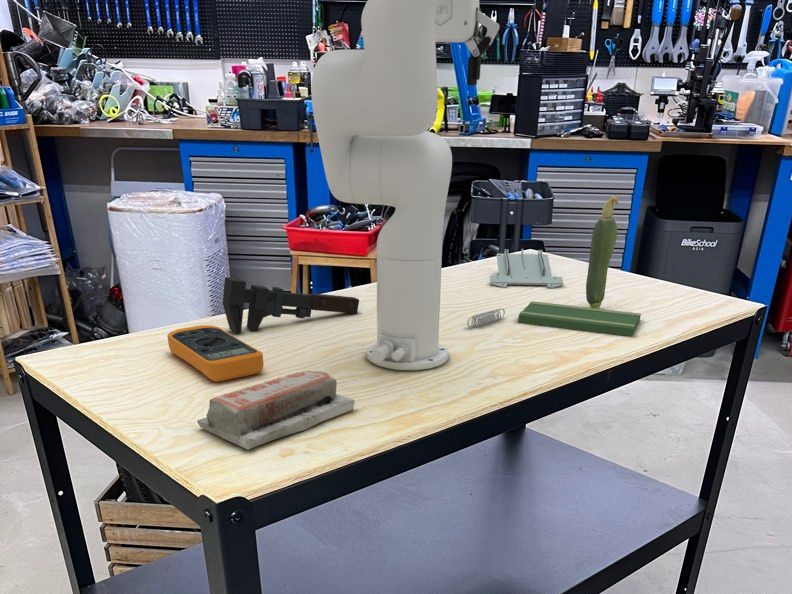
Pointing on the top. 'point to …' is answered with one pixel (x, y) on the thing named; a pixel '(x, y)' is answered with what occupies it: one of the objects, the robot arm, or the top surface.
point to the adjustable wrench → (276, 303)
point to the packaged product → (275, 408)
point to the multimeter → (215, 352)
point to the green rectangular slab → (580, 318)
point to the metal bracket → (524, 270)
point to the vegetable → (601, 254)
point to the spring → (482, 319)
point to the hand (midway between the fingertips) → (443, 84)
